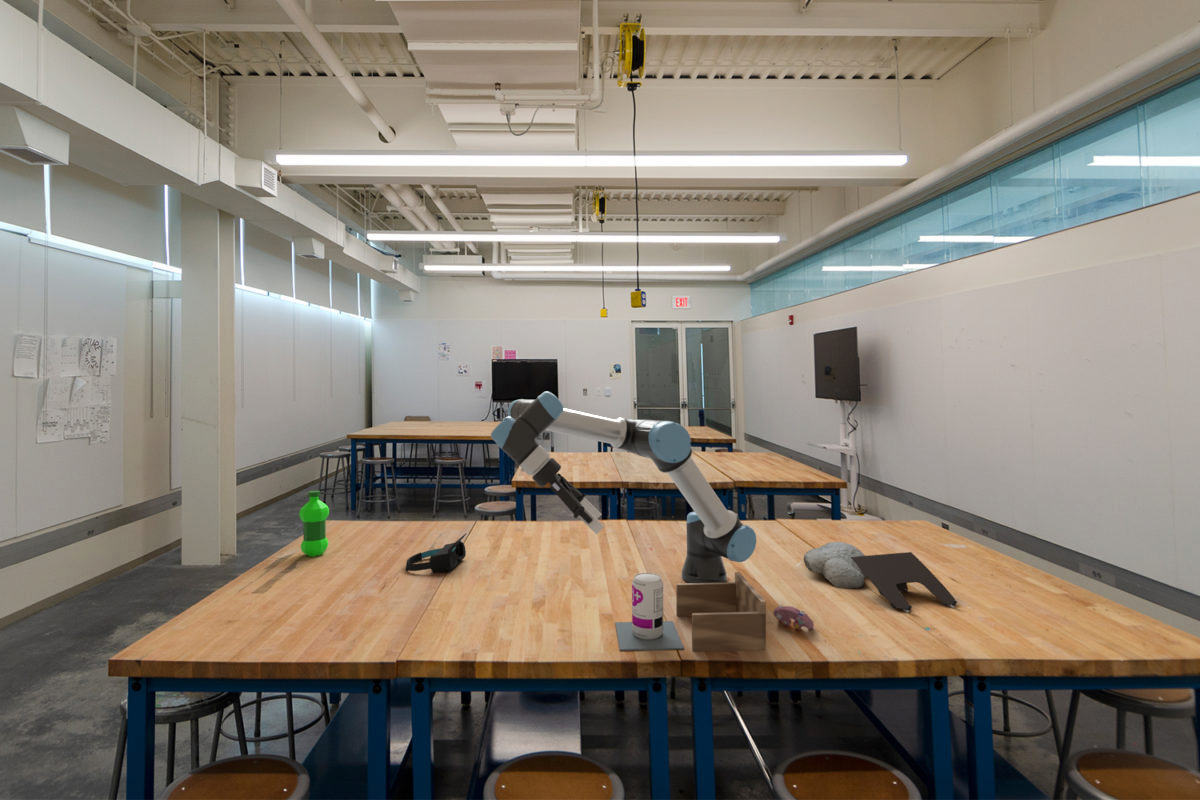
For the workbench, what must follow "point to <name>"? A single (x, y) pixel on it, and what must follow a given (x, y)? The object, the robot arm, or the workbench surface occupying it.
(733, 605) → the wooden u-shaped enclosure
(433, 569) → the virtual reality headset
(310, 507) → the plastic bottle
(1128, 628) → the workbench surface
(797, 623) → the video game controller
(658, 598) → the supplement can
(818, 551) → the grey rock
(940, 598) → the portable electronic device stand
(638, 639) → the mat
